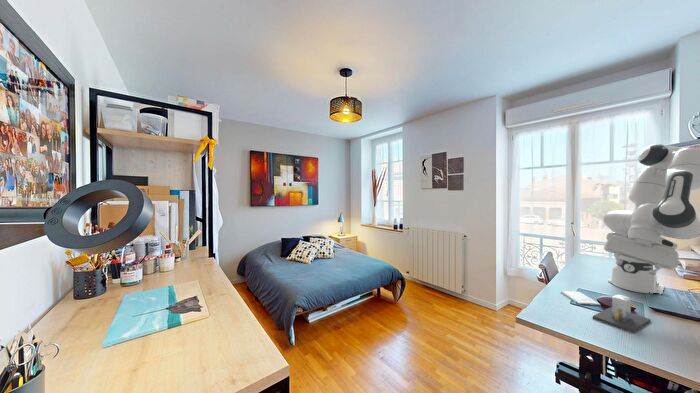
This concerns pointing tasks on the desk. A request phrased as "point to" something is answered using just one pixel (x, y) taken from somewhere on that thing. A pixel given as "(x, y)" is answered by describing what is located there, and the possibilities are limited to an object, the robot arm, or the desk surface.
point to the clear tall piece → (622, 306)
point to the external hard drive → (579, 297)
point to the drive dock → (629, 325)
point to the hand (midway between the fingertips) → (634, 269)
